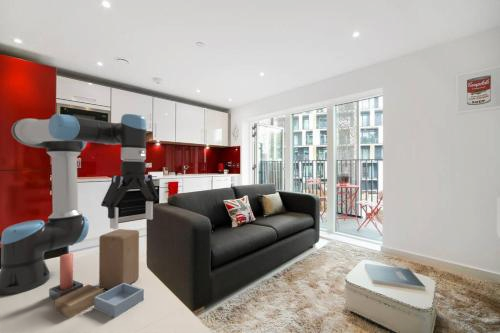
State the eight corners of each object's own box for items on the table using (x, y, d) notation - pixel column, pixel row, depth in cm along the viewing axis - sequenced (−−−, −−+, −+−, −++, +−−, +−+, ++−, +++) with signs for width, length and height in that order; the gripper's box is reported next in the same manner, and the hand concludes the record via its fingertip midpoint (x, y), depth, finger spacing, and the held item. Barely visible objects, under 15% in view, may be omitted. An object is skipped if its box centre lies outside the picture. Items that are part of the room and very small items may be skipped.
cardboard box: (55, 312, 71) (55, 299, 71) (88, 295, 80) (88, 284, 80) (70, 319, 68) (70, 305, 68) (103, 301, 77) (103, 289, 77)
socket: (49, 297, 78) (49, 288, 78) (71, 287, 85) (71, 279, 85) (60, 302, 75) (60, 293, 75) (83, 292, 82) (83, 283, 82)
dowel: (57, 296, 79) (57, 256, 79) (69, 291, 82) (69, 252, 82) (63, 298, 78) (63, 258, 78) (75, 293, 81) (75, 254, 81)
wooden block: (121, 292, 82) (121, 237, 82) (97, 289, 84) (98, 235, 84) (139, 279, 92) (140, 229, 92) (118, 276, 94) (118, 228, 94)
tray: (94, 308, 72) (94, 297, 72) (123, 292, 82) (123, 282, 82) (115, 317, 68) (115, 305, 68) (143, 299, 77) (143, 289, 77)
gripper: (104, 159, 64) (103, 234, 64) (168, 161, 87) (168, 217, 87) (87, 159, 67) (87, 231, 67) (154, 161, 90) (153, 215, 90)
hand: (133, 223), depth 77 cm, fingers open, 13 cm apart
